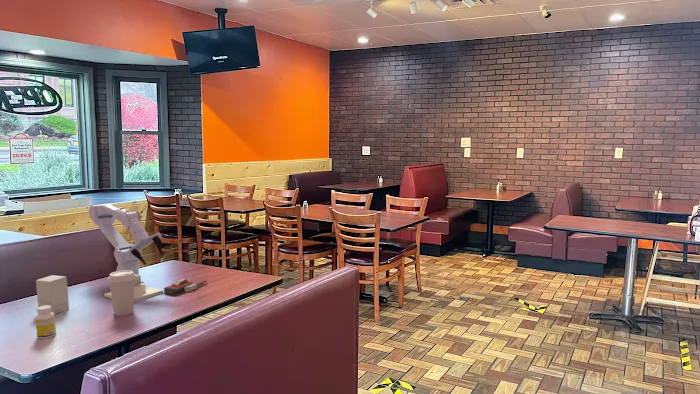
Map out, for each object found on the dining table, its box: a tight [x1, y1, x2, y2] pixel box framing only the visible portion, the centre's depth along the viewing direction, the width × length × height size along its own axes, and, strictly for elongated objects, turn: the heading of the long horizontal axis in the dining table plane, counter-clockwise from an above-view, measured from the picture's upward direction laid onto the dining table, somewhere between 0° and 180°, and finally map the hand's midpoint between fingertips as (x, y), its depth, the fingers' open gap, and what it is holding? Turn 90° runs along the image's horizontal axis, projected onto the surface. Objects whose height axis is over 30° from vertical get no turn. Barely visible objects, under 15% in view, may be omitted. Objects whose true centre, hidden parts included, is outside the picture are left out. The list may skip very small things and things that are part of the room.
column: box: [134, 274, 142, 287], centre depth 210 cm, size 4×4×7 cm
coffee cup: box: [107, 270, 136, 317], centre depth 188 cm, size 10×10×15 cm
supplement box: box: [35, 274, 70, 315], centre depth 191 cm, size 7×7×13 cm
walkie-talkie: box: [163, 278, 208, 296], centre depth 218 cm, size 9×4×20 cm
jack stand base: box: [103, 282, 164, 303], centre depth 210 cm, size 16×16×4 cm
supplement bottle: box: [34, 305, 57, 340], centre depth 167 cm, size 5×5×10 cm
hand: (153, 258), depth 213 cm, fingers open, 7 cm apart
